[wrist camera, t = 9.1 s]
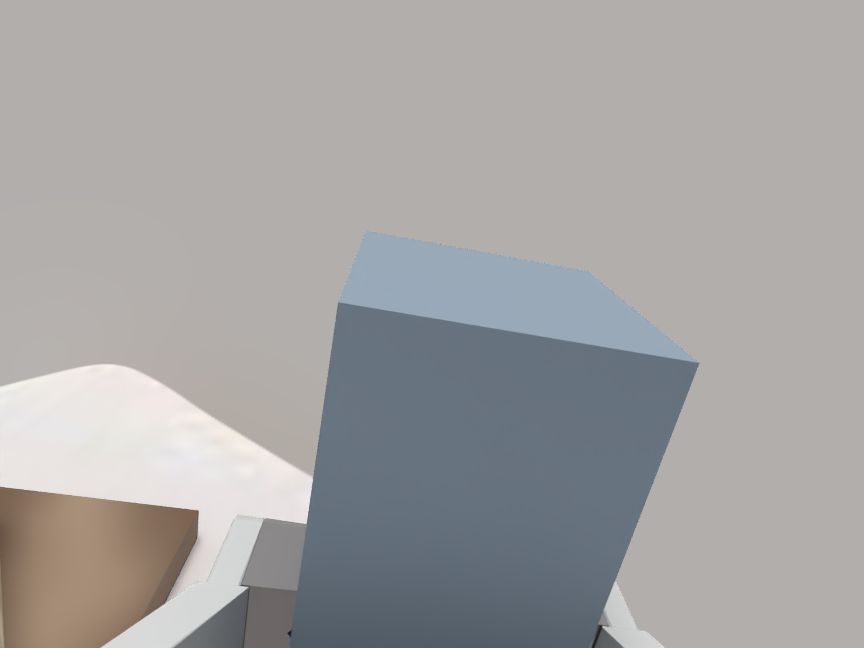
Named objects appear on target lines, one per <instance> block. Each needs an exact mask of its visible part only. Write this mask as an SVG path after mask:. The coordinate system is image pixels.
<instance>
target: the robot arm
mask: <svg viewBox="0 0 864 648" xmlns="http://www.w3.org/2000/svg"><path fill="white" fill-rule="evenodd" d="M306 526H307V524H301V523H294V522H288V521H281V520H274V519H267V518H266V519H263V518H257V517H250V516H243V515H238V516H237V517H236V518H235V519H234V520H233V522H232V524H231V527H230V529H229V531H228V534H227V536H226V538H225V540H224V543H223V545H222V547H221V549H220V552H219V554H218V556H217V559H216V561H215V563H214V565H213V568H212V570H211V572H210V574H209V577H208V579H207V581H206V582H199V581H197V582H196V583H194V584H193V585H191V586H190V587H189V588H187V589H186V590H184V591H183V592H181V593H180V594H178V595H177V596H175V597H174V598H172V599H171V600H170V601H168V602H167V603H165V604H164V605H162V606H161V607H159V608H158V609H156V610H155V611H154V612H152V613H151V614H149V615H148V616H146V617H145V618H143V619H142V620H140V621H139V622H137V623H136V624H135V625H133V626H132V627H130V628H129V629H127V630H126V631H124V632H123V633H121V634H120V635H119V636H117V637H116V638H114V639H113V640H111V641H110V642H108V643H107V644H105V645H104V646H102V647H101V648H289V646H290V639H291V632H292V625H293V618H294V611H295V604H296V597H297V590H298V583H299V576H300V569H301V562H302V555H303V548H304V541H305V533H306ZM589 648H664V646H662V645H661V644H660V643H659V642H658V641H657V640H655V639H654V638H653V637H652V636H651V635H650V634H649V633H648V632H646V631H641V630H638V628H637V626H636V623H635V621H634V619H633V617H632V615H631V613H630V611H629V609H628V606H627V604H626V602H625V600H624V598H623V595H622V594H621V592H620V589H619V587H618V585H617V583H616V581H615V582H614V585H613V587H612V590H611V592H610V595H609V598H608V600H607V603H606V605H605V608H604V611H603V613H602V616H601V618H600V621H599V623H598V626H597V629H596V631H595V634H594V636H593V639H592V641H591V644H590V647H589Z"/></svg>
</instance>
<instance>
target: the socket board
mask: <svg viewBox="0 0 864 648" xmlns="http://www.w3.org/2000/svg"><path fill="white" fill-rule="evenodd" d="M198 514H199V511H197V510H189V509H181V508H172V507H164V506H155V505H147V504H139V503H130V502H122V501H114V500H105V499H97V498H88V497H80V496H72V495H63V494H55V493H47V492H38V491H30V490H21V489H13V488H5V487H0V648H101V647H102V646H104V645H105V644H107V643H108V642H110V641H111V640H113V639H114V638H116V637H117V636H119V635H120V634H121V633H123V632H124V631H126V630H127V629H129V628H130V627H132V626H133V625H135V624H136V623H137V622H139V621H140V620H142V619H143V618H145V617H146V616H148V615H149V614H151V613H152V612H154V611H155V610H156V609H158V608H159V607H161V606H162V605H164V603H165V601H166V599H167V597H168V595H169V593H170V591H171V589H172V587H173V585H174V583H175V581H176V579H177V577H178V575H179V573H180V571H181V569H182V567H183V565H184V563H185V561H186V559H187V557H188V555H189V553H190V551H191V549H192V547H193V545H194V543H195V541H196V539H197V533H198Z"/></svg>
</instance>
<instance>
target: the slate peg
mask: <svg viewBox="0 0 864 648" xmlns="http://www.w3.org/2000/svg"><path fill="white" fill-rule="evenodd" d="M698 365H699V362H698V361H696V360H695V359H694V358H693V357H691V356H690V355H689V354H688V353H687V352H685V351H684V350H683V349H682V348H681V347H679V346H678V345H677V344H676V343H674V342H673V341H672V340H671V339H670V338H668V337H667V336H666V335H665V334H664V333H662V332H661V331H660V330H659V329H658V328H656V327H655V326H654V325H653V324H651V323H650V322H649V321H648V320H647V319H645V318H644V317H643V316H642V315H640V314H639V313H638V312H637V311H636V310H634V309H633V308H632V307H631V306H630V305H628V304H627V303H626V302H625V301H623V300H622V299H621V298H620V297H619V296H617V295H616V294H615V293H614V292H613V291H611V290H610V289H609V288H608V287H606V286H605V285H604V284H603V283H602V282H600V281H599V280H598V279H597V278H596V277H594V276H593V275H592V274H591V273H589V272H588V271H583V270H577V269H572V268H566V267H561V266H555V265H550V264H545V263H539V262H534V261H528V260H522V259H517V258H512V257H506V256H501V255H495V254H490V253H485V252H479V251H474V250H468V249H463V248H456V247H451V246H446V245H441V244H434V243H430V242H424V241H419V240H413V239H408V238H402V237H397V236H391V235H385V234H380V233H375V232H369V231H366V232H365V234H364V237H363V240H362V242H361V245H360V247H359V250H358V253H357V255H356V258H355V261H354V263H353V266H352V268H351V271H350V273H349V276H348V278H347V281H346V284H345V286H344V289H343V291H342V294H341V297H340V299H339V302H338V308H337V315H336V322H335V329H334V336H333V343H332V350H331V358H330V364H329V371H328V378H327V385H326V392H325V399H324V407H323V414H322V421H321V428H320V435H319V442H318V449H317V456H316V463H315V470H314V477H313V484H312V491H311V498H310V505H309V512H308V519H307V526H306V533H305V541H304V548H303V555H302V562H301V569H300V576H299V583H298V590H297V597H296V604H295V611H294V618H293V625H292V632H291V639H290V646H289V648H589V647H590V644H591V641H592V639H593V636H594V634H595V631H596V629H597V626H598V623H599V621H600V618H601V616H602V613H603V611H604V608H605V605H606V603H607V600H608V598H609V595H610V592H611V590H612V587H613V585H614V582H615V579H616V577H617V574H618V572H619V569H620V567H621V564H622V561H623V559H624V556H625V554H626V551H627V549H628V546H629V543H630V541H631V538H632V536H633V533H634V530H635V528H636V525H637V523H638V520H639V518H640V515H641V512H642V510H643V507H644V505H645V502H646V499H647V497H648V494H649V492H650V489H651V487H652V484H653V481H654V479H655V476H656V474H657V471H658V469H659V466H660V463H661V460H662V458H663V455H664V453H665V450H666V448H667V445H668V443H669V440H670V438H671V435H672V432H673V430H674V427H675V425H676V422H677V419H678V417H679V414H680V412H681V409H682V407H683V404H684V401H685V399H686V396H687V393H688V391H689V388H690V386H691V383H692V381H693V378H694V375H695V373H696V370H697V367H698Z"/></svg>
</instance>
